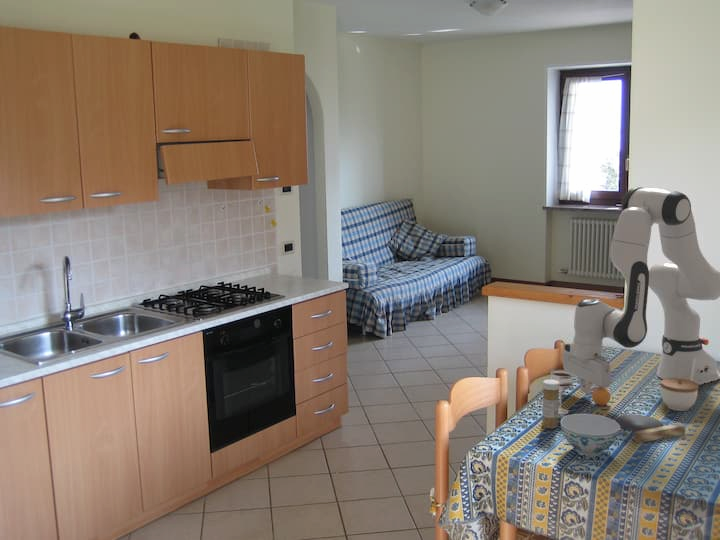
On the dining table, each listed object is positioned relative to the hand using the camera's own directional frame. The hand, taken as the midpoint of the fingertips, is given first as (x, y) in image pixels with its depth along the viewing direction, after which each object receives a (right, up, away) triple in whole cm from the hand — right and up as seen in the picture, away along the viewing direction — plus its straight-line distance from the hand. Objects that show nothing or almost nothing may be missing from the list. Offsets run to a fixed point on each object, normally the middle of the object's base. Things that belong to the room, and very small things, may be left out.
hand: (585, 392), depth 246 cm
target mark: (+9, -6, -22) cm, 25 cm away
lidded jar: (+25, -3, -10) cm, 27 cm away
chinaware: (-11, -9, -42) cm, 44 cm away
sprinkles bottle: (-17, -6, -24) cm, 30 cm away
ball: (+3, 0, -7) cm, 8 cm away
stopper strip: (+11, -7, -33) cm, 35 cm away
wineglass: (-11, -4, -12) cm, 17 cm away
